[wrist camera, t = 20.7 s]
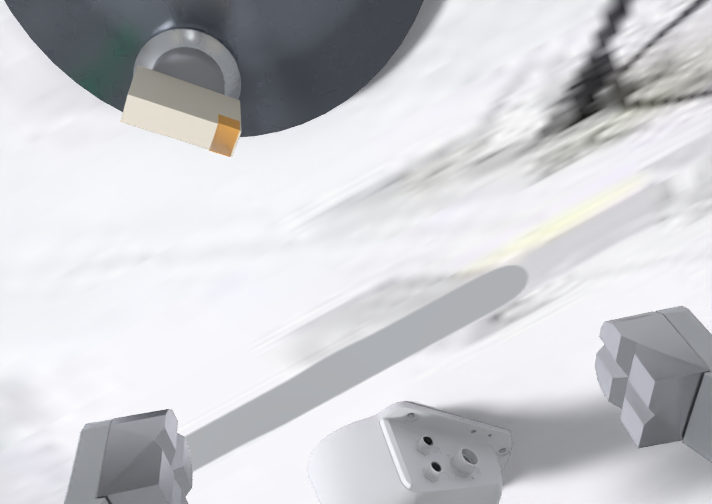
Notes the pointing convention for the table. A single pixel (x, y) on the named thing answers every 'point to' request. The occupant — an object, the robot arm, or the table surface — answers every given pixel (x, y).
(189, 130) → the cream block orange corner
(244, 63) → the tribrach disc
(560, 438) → the table surface
